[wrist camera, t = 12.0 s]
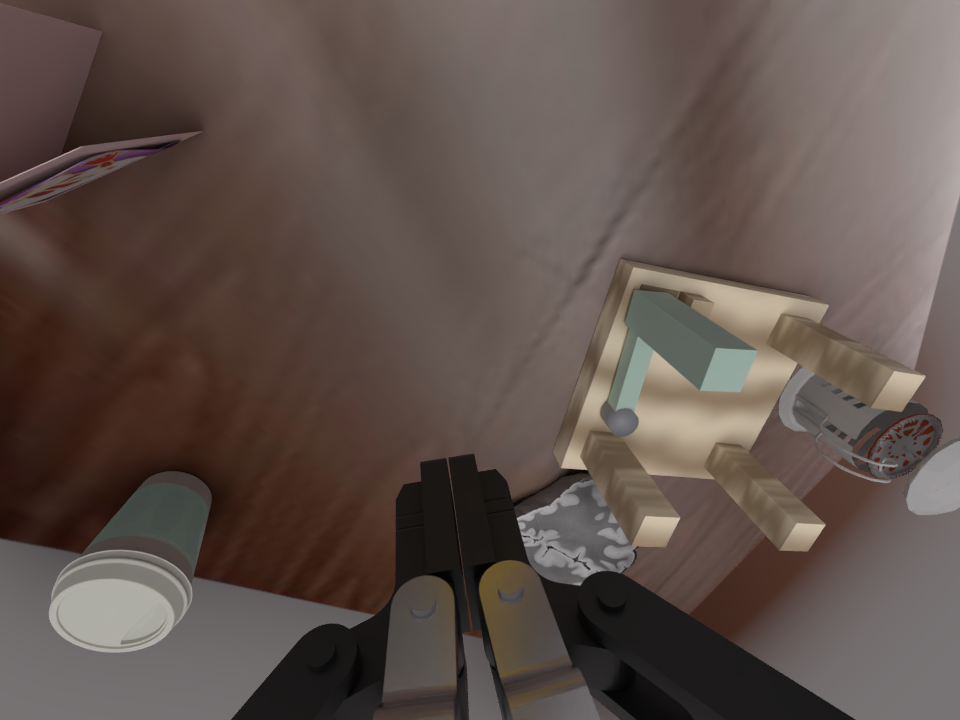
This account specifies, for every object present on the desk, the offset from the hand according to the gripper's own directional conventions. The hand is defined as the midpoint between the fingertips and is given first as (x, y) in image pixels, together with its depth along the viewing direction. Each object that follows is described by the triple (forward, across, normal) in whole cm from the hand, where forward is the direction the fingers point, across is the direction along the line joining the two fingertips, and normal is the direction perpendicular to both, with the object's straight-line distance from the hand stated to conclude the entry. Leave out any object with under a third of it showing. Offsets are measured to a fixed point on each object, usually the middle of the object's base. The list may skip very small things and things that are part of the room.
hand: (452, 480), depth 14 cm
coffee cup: (+26, -25, -21) cm, 41 cm away
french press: (+28, +39, -23) cm, 53 cm away
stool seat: (+28, +23, -18) cm, 40 cm away
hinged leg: (+25, +16, -13) cm, 32 cm away
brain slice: (+27, +10, -36) cm, 46 cm away
